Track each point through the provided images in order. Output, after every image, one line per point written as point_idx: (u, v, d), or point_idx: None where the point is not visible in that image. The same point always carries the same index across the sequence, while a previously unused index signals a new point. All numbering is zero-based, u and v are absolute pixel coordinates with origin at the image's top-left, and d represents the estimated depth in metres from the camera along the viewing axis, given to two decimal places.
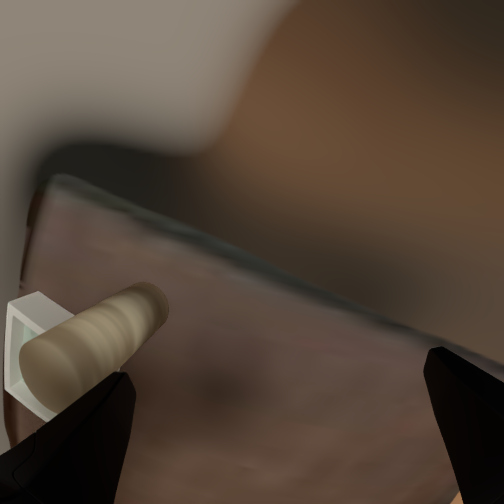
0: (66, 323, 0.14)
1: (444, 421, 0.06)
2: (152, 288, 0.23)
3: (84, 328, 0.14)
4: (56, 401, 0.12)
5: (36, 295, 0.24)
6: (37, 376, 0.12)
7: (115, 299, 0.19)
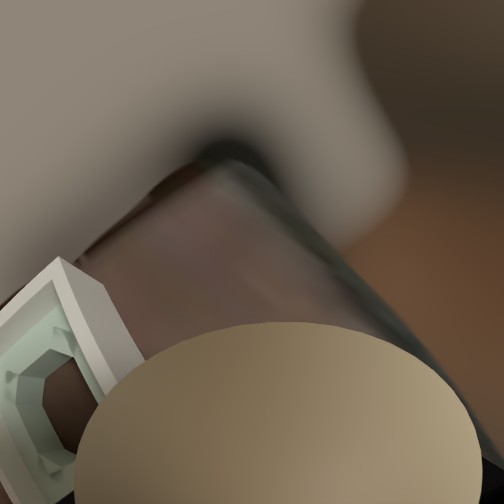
0: None
1: None
2: None
3: None
4: None
5: (99, 287, 0.16)
6: (203, 502, 0.02)
7: None
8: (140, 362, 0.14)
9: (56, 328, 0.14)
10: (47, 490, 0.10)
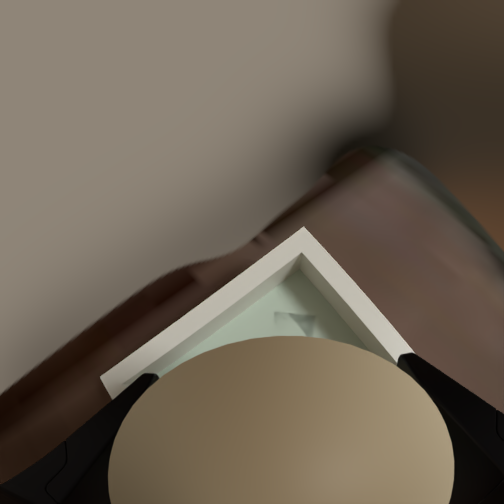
0: None
1: None
2: None
3: None
4: None
5: None
6: (223, 483, 0.03)
7: None
8: None
9: (279, 313, 0.14)
10: None
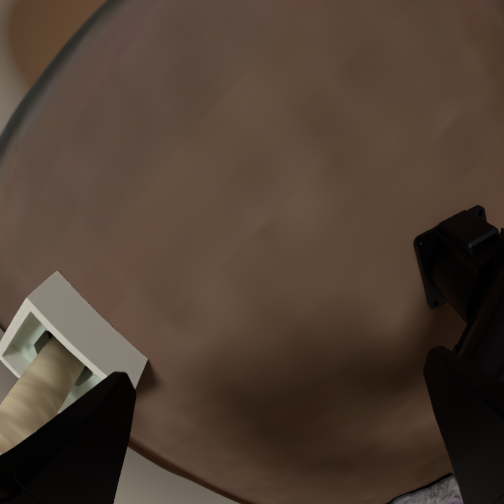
0: None
1: (444, 421, 0.06)
2: None
3: (1, 404, 0.15)
4: None
5: None
6: None
7: None
8: None
9: (29, 354, 0.23)
10: None
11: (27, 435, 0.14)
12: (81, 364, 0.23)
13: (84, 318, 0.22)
